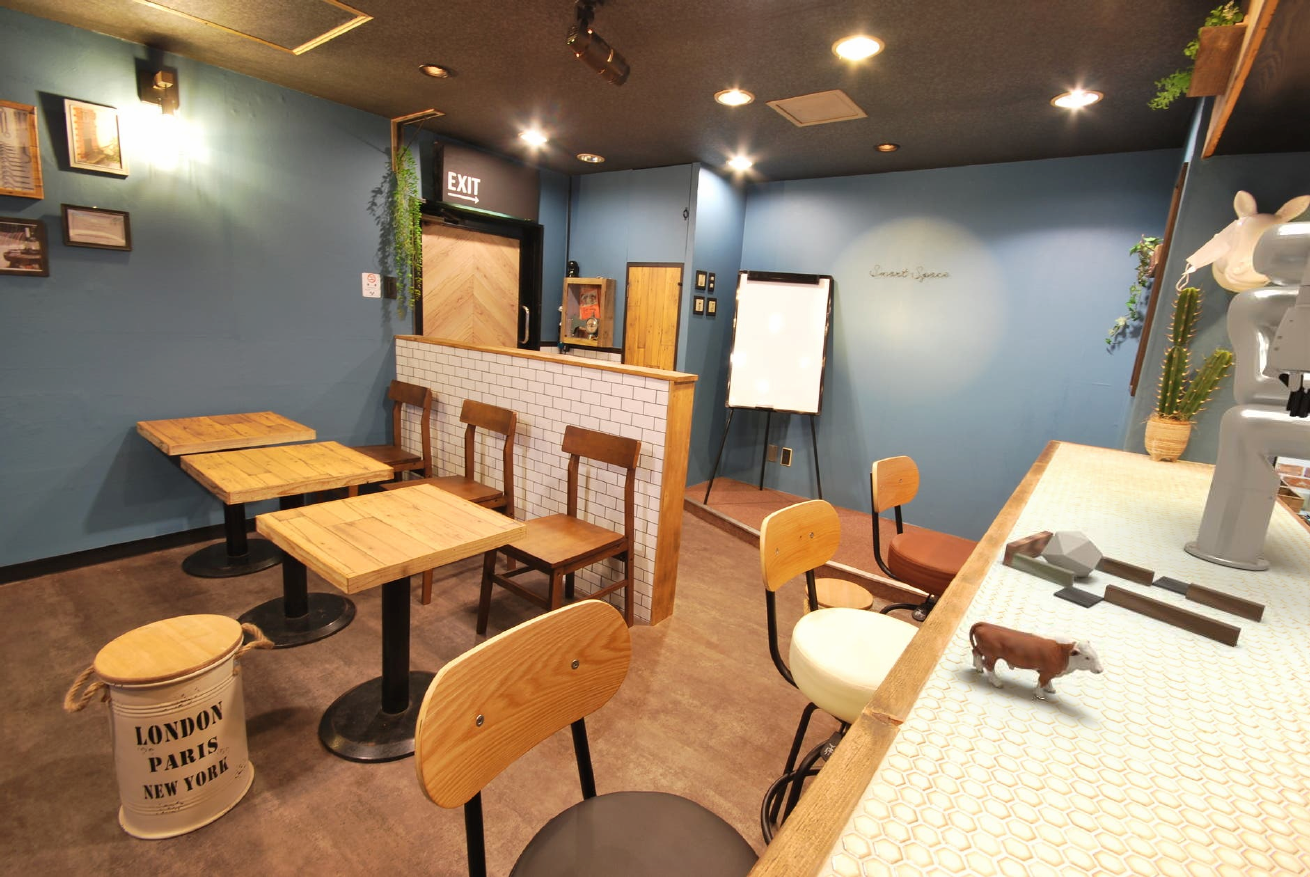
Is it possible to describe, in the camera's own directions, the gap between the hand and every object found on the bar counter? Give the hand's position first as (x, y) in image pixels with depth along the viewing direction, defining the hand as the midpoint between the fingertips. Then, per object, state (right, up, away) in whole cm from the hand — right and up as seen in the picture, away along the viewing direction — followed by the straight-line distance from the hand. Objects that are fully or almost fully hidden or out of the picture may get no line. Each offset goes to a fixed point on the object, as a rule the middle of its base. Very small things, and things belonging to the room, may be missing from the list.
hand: (1298, 416), depth 94 cm
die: (-28, -28, +13) cm, 42 cm away
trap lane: (-22, -30, +8) cm, 38 cm away
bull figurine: (-58, -34, -23) cm, 71 cm away
